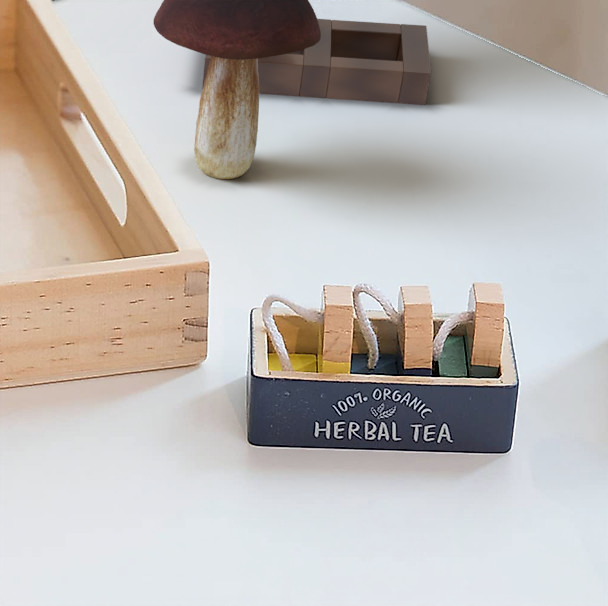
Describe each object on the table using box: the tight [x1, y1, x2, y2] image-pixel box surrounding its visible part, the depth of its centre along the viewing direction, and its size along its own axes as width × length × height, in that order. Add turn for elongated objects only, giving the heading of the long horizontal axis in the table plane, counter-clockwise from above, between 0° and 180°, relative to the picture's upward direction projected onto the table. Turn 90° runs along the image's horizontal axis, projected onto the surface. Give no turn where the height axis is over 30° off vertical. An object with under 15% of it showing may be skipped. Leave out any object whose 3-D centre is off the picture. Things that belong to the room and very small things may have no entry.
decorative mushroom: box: [153, 0, 321, 180], centre depth 102 cm, size 11×11×15 cm
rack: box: [201, 18, 432, 106], centre depth 119 cm, size 17×9×3 cm, turn 80°
